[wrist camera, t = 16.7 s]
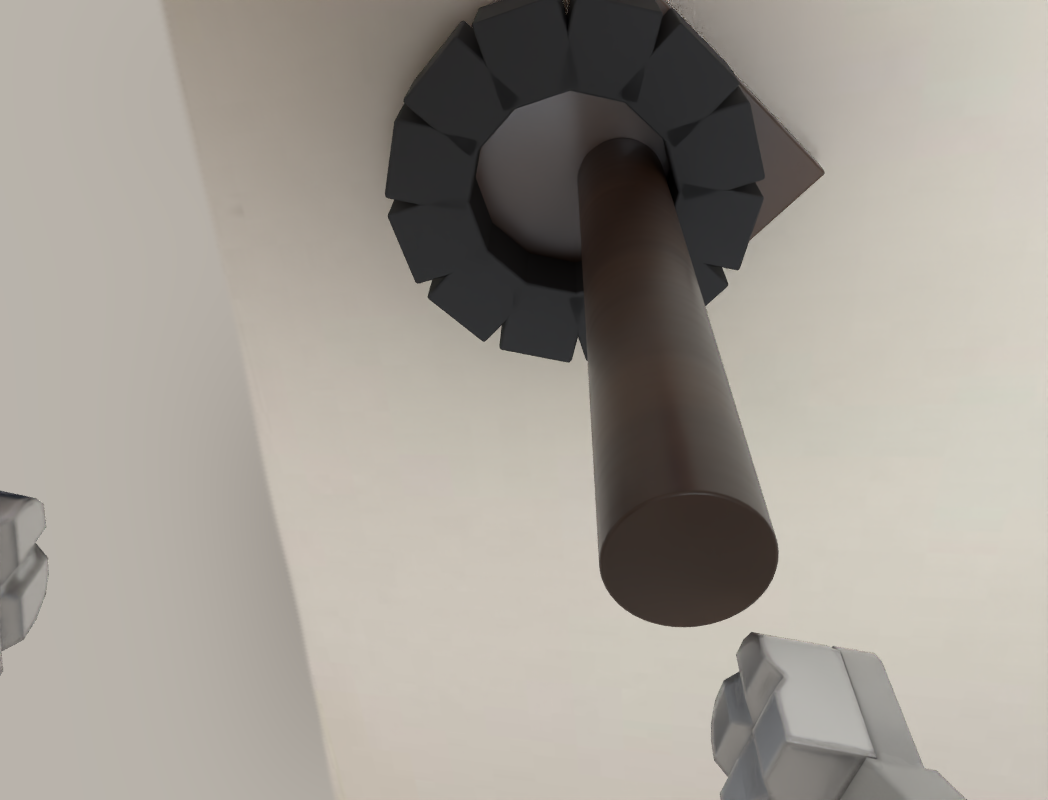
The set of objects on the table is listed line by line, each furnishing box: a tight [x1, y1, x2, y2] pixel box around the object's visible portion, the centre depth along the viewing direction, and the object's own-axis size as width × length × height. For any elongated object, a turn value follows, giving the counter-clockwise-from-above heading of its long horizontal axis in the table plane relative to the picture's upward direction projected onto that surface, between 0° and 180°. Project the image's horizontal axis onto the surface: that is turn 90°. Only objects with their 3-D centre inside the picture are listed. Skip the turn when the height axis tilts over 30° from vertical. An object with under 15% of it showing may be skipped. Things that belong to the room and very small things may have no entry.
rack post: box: [476, 0, 824, 627], centre depth 20 cm, size 8×8×17 cm
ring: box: [385, 0, 765, 362], centre depth 25 cm, size 10×10×2 cm
